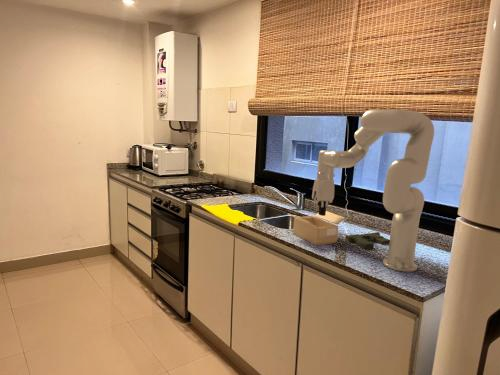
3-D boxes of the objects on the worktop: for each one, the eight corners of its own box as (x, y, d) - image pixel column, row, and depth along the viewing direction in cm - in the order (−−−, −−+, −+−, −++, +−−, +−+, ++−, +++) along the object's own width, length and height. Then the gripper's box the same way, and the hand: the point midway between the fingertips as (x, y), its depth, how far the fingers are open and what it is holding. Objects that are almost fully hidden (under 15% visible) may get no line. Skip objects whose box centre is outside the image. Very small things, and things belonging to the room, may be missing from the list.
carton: (337, 243, 170) (339, 225, 168) (317, 245, 164) (318, 227, 163) (311, 231, 186) (313, 215, 185) (292, 233, 181) (293, 217, 179)
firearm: (400, 239, 174) (375, 230, 187) (366, 244, 162) (341, 234, 174) (399, 245, 175) (374, 236, 187) (365, 251, 162) (341, 240, 175)
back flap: (336, 223, 170) (337, 224, 170) (344, 217, 171) (345, 218, 171) (314, 215, 184) (315, 216, 184) (322, 209, 185) (322, 210, 186)
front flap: (309, 221, 161) (308, 222, 161) (317, 225, 164) (316, 226, 164) (288, 213, 176) (287, 214, 176) (295, 217, 178) (295, 218, 178)
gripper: (332, 175, 179) (328, 212, 182) (307, 175, 172) (304, 214, 175) (342, 177, 172) (339, 215, 175) (317, 178, 165) (314, 217, 168)
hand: (321, 214), depth 175 cm, fingers closed
